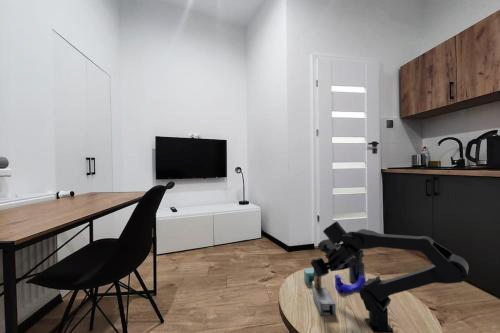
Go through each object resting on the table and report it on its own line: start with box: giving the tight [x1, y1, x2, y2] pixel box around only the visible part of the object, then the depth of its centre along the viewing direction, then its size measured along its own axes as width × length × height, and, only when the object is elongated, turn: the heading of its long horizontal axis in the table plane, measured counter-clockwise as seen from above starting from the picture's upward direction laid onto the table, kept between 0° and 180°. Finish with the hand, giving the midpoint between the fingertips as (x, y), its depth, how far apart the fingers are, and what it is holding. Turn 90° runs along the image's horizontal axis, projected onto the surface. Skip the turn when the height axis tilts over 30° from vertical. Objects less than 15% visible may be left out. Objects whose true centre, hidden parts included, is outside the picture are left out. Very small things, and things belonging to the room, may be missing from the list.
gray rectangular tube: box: [312, 287, 337, 317], centre depth 94 cm, size 12×5×4 cm, turn 178°
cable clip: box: [334, 274, 367, 294], centre depth 106 cm, size 12×4×6 cm, turn 87°
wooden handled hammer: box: [311, 276, 330, 310], centre depth 99 cm, size 18×3×13 cm, turn 178°
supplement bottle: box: [348, 256, 366, 284], centre depth 114 cm, size 7×7×12 cm
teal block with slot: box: [303, 268, 314, 285], centre depth 115 cm, size 5×6×5 cm
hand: (322, 272), depth 100 cm, fingers open, 9 cm apart
